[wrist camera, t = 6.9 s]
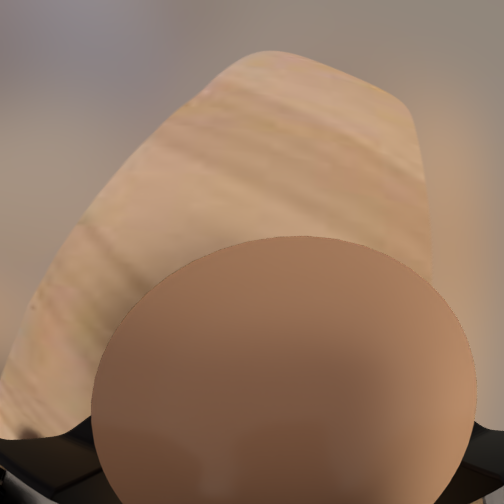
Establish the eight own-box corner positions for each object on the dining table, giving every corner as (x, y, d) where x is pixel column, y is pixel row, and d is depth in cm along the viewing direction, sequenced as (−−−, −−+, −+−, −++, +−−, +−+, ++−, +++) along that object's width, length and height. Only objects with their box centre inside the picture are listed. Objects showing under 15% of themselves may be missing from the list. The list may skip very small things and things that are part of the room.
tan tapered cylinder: (326, 389, 14) (468, 503, 2) (238, 409, 14) (161, 573, 2) (307, 305, 16) (432, 203, 3) (219, 324, 16) (65, 283, 3)
